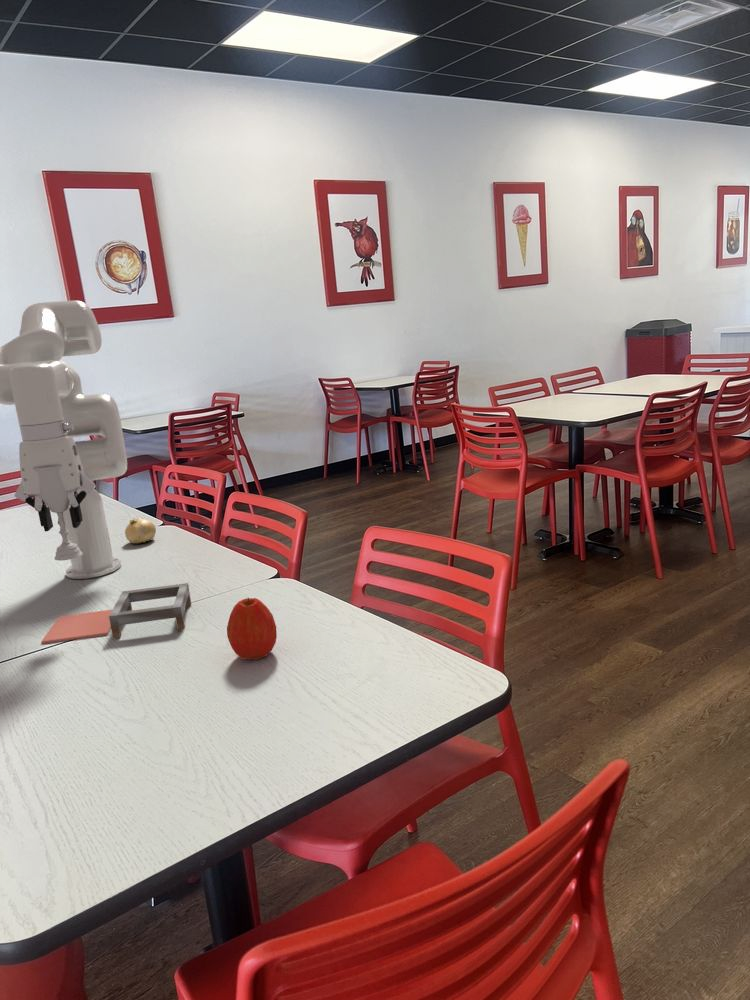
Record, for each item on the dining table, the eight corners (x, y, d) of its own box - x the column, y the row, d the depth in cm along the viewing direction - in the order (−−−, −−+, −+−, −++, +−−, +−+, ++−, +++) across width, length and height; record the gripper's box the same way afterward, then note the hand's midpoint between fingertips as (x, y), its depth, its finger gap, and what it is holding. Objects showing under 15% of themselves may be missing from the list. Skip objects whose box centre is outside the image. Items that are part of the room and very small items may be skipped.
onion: (135, 538, 199) (131, 513, 197) (162, 537, 198) (158, 512, 196) (121, 547, 191) (117, 521, 190) (149, 546, 190) (145, 520, 188)
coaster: (59, 618, 144) (59, 616, 144) (120, 610, 146) (120, 608, 146) (41, 643, 133) (41, 641, 133) (107, 634, 134) (107, 632, 134)
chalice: (96, 550, 138) (79, 459, 133) (71, 562, 132) (52, 467, 127) (66, 549, 140) (48, 460, 136) (40, 561, 134) (20, 468, 130)
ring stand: (126, 612, 145) (122, 591, 144) (191, 603, 146) (188, 582, 145) (113, 639, 132) (108, 616, 131) (184, 629, 134) (180, 606, 133)
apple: (238, 672, 115) (229, 611, 113) (224, 653, 122) (216, 595, 120) (286, 658, 119) (278, 598, 116) (270, 640, 126) (262, 584, 123)
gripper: (96, 425, 135) (113, 517, 139) (2, 434, 133) (23, 527, 137) (86, 430, 127) (104, 527, 132) (-13, 440, 125) (9, 539, 130)
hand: (62, 526), depth 134 cm, fingers closed on chalice, 4 cm apart
